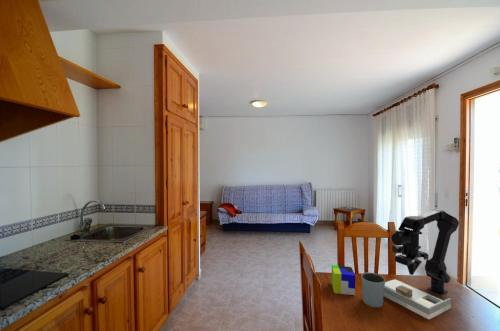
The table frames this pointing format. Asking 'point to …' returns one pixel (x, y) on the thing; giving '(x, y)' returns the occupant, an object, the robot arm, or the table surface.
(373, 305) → the grey cup
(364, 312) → the table surface
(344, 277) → the puzzle toy
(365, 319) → the table surface
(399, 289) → the block
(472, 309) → the table surface
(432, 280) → the robot arm
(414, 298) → the tray
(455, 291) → the table surface
